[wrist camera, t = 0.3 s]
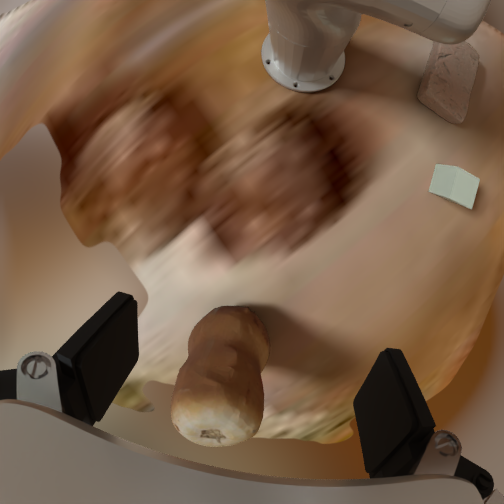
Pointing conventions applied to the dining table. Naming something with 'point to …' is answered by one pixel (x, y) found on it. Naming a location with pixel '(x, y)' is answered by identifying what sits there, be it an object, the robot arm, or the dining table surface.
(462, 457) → the robot arm
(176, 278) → the dining table surface
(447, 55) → the brick
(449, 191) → the block
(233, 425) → the brown oblong lump
